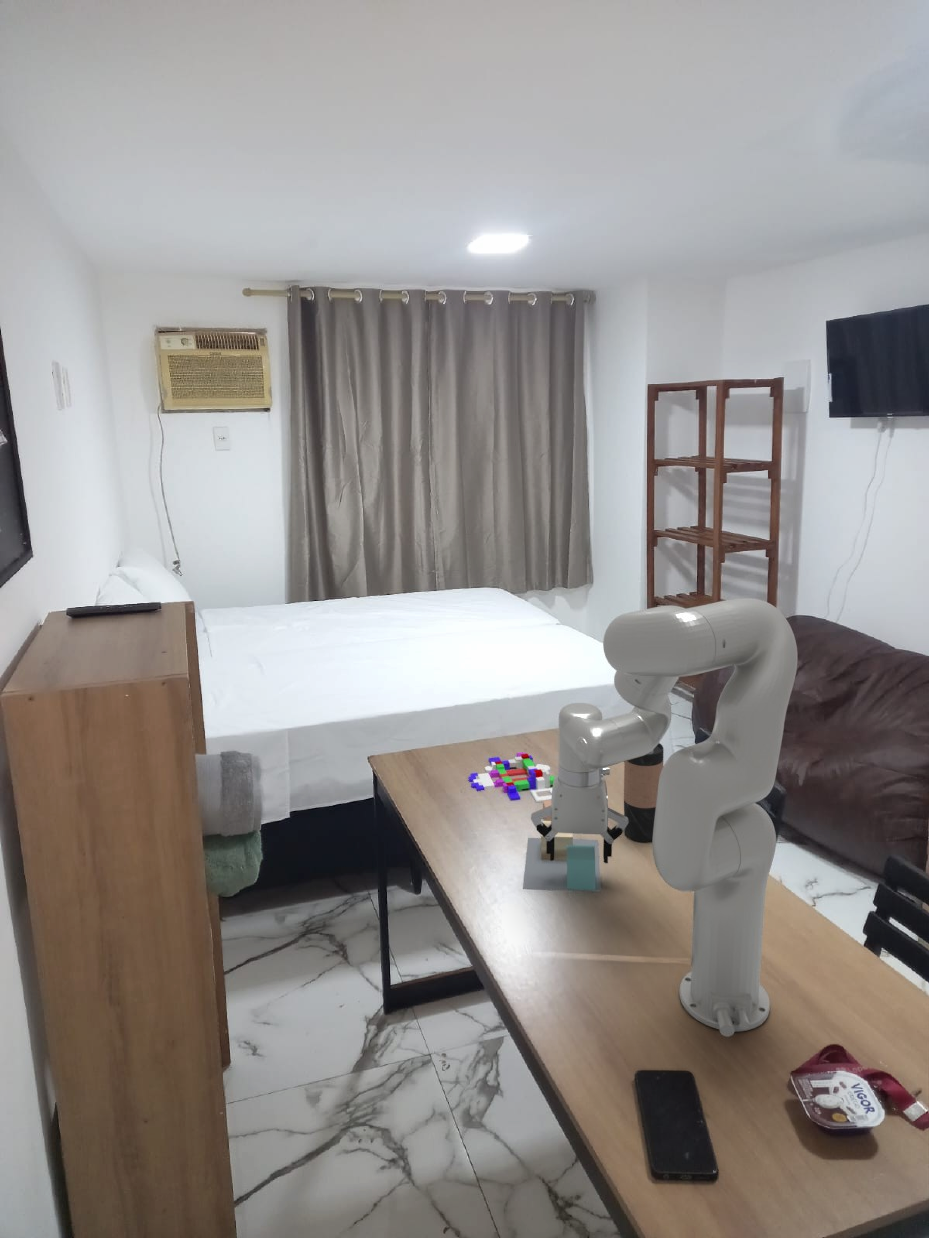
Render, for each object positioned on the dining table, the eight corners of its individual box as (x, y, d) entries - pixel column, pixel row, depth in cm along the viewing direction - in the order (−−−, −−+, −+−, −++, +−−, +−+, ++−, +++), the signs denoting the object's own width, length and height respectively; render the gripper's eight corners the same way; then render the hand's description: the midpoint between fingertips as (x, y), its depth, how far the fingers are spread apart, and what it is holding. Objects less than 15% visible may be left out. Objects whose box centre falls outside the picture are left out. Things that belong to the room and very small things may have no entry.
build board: (600, 896, 145) (600, 891, 145) (522, 893, 147) (522, 888, 147) (598, 844, 162) (598, 839, 162) (528, 842, 164) (528, 837, 164)
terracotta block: (543, 817, 174) (546, 826, 170) (542, 800, 173) (546, 809, 169) (561, 815, 174) (565, 824, 170) (561, 798, 173) (565, 807, 169)
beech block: (572, 860, 155) (572, 837, 154) (541, 859, 156) (541, 836, 154) (572, 844, 161) (572, 821, 159) (542, 843, 161) (542, 820, 160)
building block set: (461, 765, 202) (460, 748, 201) (540, 755, 205) (540, 739, 204) (482, 812, 178) (481, 794, 177) (571, 800, 181) (571, 782, 180)
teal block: (595, 889, 145) (595, 860, 144) (567, 888, 146) (566, 859, 144) (594, 874, 150) (594, 845, 149) (567, 873, 151) (567, 844, 149)
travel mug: (646, 852, 159) (648, 758, 154) (615, 838, 164) (616, 746, 159) (669, 837, 163) (672, 746, 158) (638, 824, 169) (640, 735, 164)
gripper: (628, 764, 145) (625, 848, 150) (531, 761, 147) (532, 844, 152) (631, 784, 138) (628, 872, 143) (529, 780, 140) (530, 867, 145)
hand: (578, 857), depth 147 cm, fingers open, 9 cm apart
